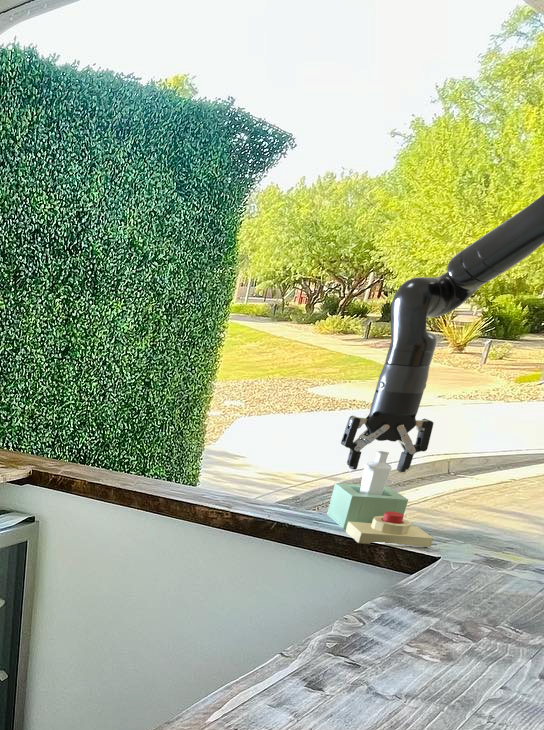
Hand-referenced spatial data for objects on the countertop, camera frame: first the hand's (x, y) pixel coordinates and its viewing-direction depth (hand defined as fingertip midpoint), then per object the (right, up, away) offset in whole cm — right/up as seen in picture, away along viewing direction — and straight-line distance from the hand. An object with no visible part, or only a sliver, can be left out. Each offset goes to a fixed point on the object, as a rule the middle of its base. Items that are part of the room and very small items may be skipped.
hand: (376, 470), depth 153 cm
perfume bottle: (0, -11, +4) cm, 12 cm away
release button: (-2, -11, -6) cm, 13 cm away
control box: (-1, -14, -5) cm, 15 cm away
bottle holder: (0, -10, +4) cm, 11 cm away
